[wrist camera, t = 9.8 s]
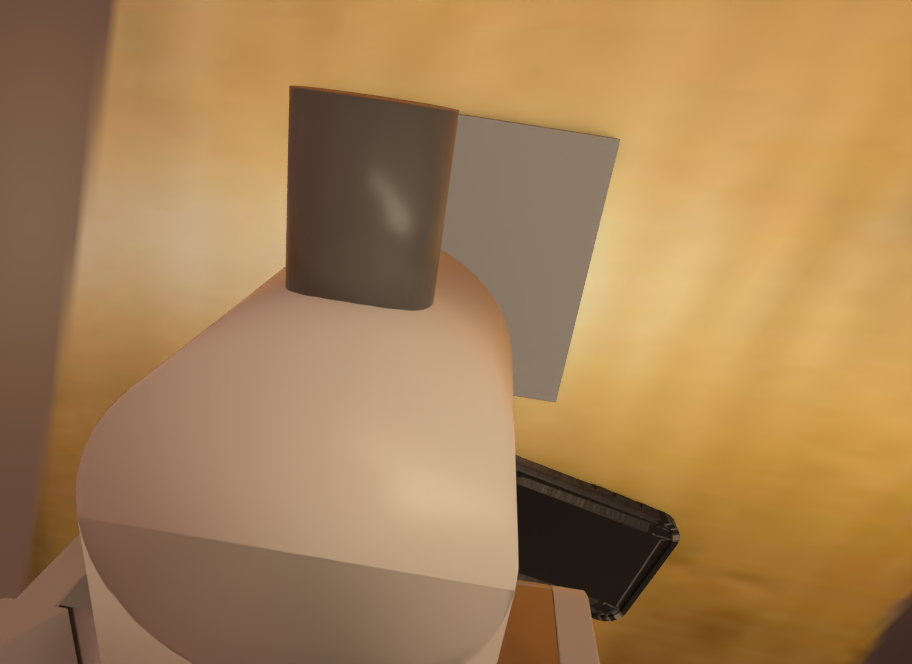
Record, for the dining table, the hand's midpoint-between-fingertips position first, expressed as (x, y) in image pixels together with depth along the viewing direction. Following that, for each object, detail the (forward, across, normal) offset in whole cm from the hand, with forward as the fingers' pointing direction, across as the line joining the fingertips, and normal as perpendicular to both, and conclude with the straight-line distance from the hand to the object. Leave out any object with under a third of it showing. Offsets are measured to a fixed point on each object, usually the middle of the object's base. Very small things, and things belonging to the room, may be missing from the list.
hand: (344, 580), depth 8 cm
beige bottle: (+2, 0, 0) cm, 2 cm away
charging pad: (+18, 0, 0) cm, 18 cm away
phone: (+19, -6, +14) cm, 24 cm away
